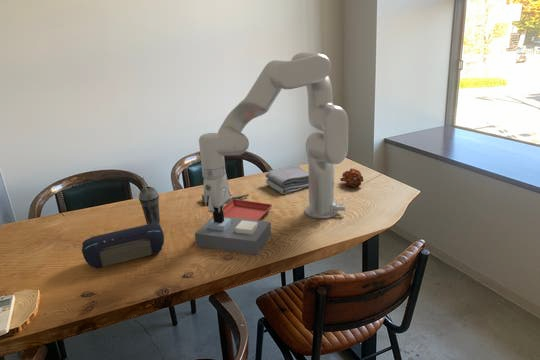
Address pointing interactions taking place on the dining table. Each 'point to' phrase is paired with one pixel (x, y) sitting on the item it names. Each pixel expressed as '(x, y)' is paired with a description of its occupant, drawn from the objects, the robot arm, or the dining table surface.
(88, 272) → the dining table surface
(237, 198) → the walkie-talkie
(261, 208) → the plant saucer
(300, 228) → the dining table surface
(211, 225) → the blue key
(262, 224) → the console
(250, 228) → the white key
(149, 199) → the beverage cup
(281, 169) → the towel
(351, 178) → the pine cone
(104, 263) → the portable speaker
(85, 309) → the dining table surface
